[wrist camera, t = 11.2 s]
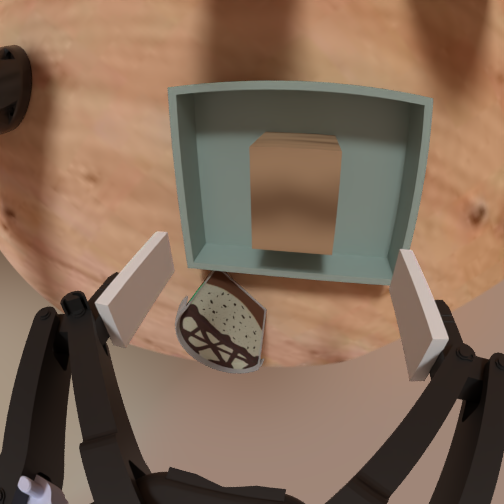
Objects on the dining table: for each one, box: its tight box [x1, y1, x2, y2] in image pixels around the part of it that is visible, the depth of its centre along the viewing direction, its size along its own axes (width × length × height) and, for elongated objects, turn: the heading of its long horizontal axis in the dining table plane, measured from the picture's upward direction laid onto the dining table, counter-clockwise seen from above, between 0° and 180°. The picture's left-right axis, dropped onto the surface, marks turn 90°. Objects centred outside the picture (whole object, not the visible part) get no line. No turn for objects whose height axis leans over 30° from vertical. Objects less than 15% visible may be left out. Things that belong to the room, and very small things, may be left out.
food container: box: [175, 270, 266, 373], centre depth 38 cm, size 12×6×10 cm, turn 45°
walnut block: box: [249, 132, 342, 255], centre depth 27 cm, size 9×7×8 cm
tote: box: [168, 81, 433, 285], centre depth 29 cm, size 24×20×5 cm
